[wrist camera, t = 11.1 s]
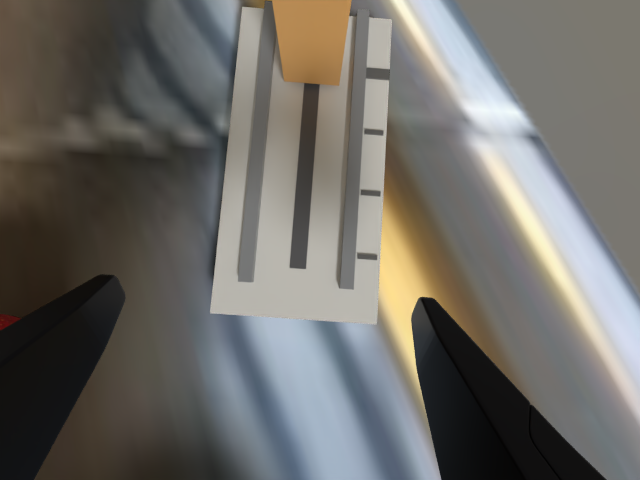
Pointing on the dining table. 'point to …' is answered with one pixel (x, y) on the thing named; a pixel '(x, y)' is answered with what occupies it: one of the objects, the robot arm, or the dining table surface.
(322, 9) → the fader lever
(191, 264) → the dining table surface
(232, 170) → the dimmer console
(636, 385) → the dining table surface
